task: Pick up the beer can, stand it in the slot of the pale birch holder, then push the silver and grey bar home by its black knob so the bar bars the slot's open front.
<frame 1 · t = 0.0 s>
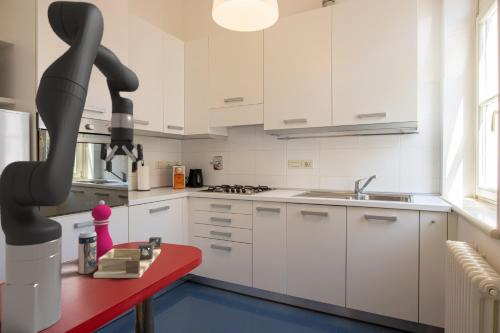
hand: (121, 172, 103), 29 cm above the table, tool pointing down, fingers open, 8 cm apart
pink pepper grinder: (101, 259, 96), on the table
beer can: (87, 272, 85), on the table
birch holder: (131, 263, 93), on the table
silver and grey bar: (150, 247, 100), point 3 cm above the table, slide at 0.0 cm
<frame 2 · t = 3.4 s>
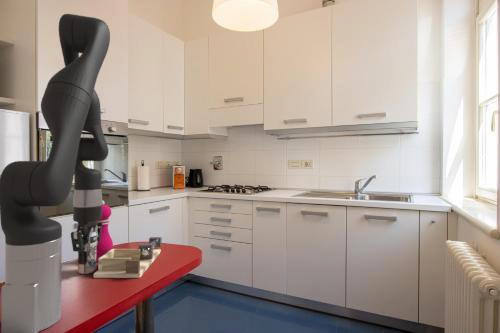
hand: (87, 260, 85), 3 cm above the table, tool pointing down, fingers closed on beer can, 4 cm apart
beer can: (87, 272, 85), on the table, touching gripper
everything else where it was.
when the fingers open (6 cm above the table, at t = 9.2 s): beer can drops 1 cm, resting on birch holder.
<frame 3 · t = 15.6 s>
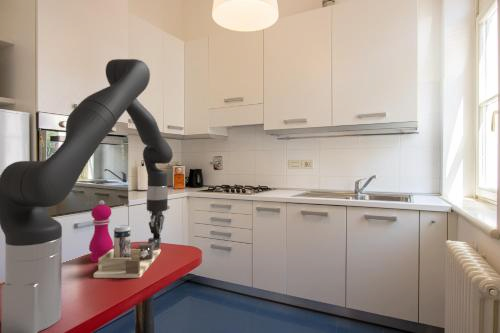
hand: (156, 243, 108), 2 cm above the table, tool pointing down, fingers closed
beer can: (122, 265, 88), point 1 cm above the table, touching birch holder
silver and grey bar: (149, 247, 99), point 3 cm above the table, slide at 1.0 cm, touching gripper
everything else where it was.
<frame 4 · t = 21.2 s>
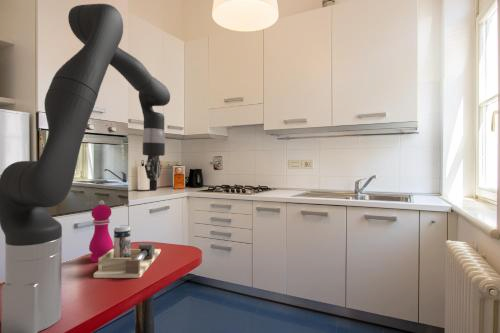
hand: (153, 190, 102), 23 cm above the table, tool pointing down, fingers closed
silver and grey bar: (141, 255, 90), point 3 cm above the table, slide at 9.2 cm
everything else where it was.
at the end: beer can 0.2 cm from the target spot, point 1.0 cm above the table; beer can tilted 0°; silver and grey bar slide at 9.2 cm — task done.
